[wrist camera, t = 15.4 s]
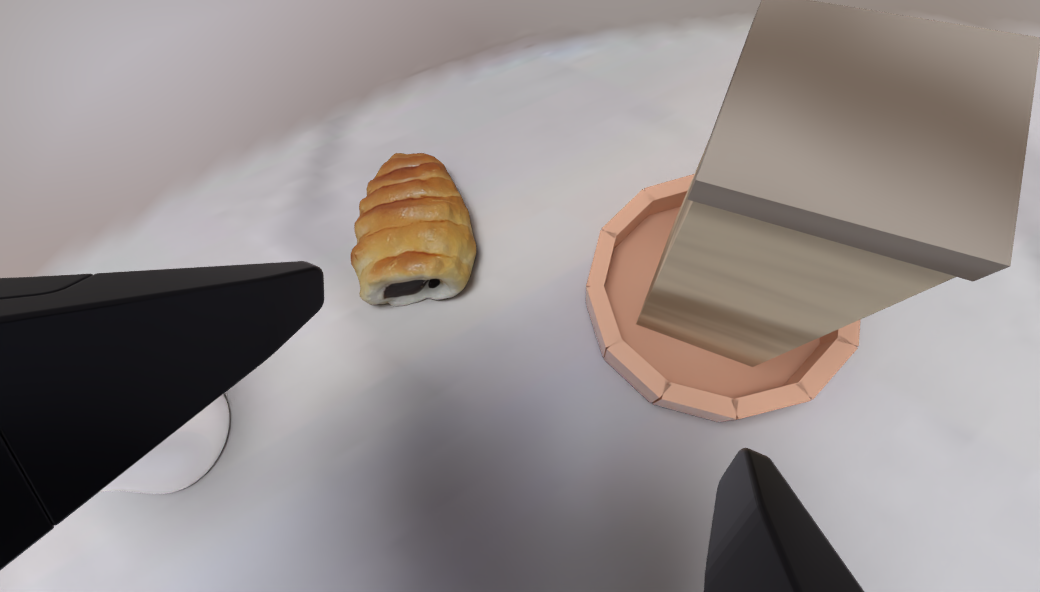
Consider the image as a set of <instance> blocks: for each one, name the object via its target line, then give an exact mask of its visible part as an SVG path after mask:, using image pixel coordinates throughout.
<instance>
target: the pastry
mask: <svg viewBox="0 0 1040 592" xmlns="http://www.w3.org/2000/svg"><path fill="white" fill-rule="evenodd" d="M359 210H360V217H359V218H358V219H357V221H356V222H355V234H356V238H357V245H356V246H355V247H354V248H353V249H352V252H351V264H352V266H353V268H354V269H355V271H356V274H357V276H358V279H359V282H360V287H361V289H360V297H361V298H362V300H364V301H365V302H367V303H369V304H371V305H377V304H386V303H389V304H390V305H392V306H403V305H408V304H411V303H414V302H419V301H421V300H423V299H425V298H432V299H436V300H439V299H445V298H451V297H454V296H455V295H457V294H458V293H459V292H461V291H462V290H463V289H464V287H465V286H466V284H467V282H468V280H469V278H470V275H471V271H472V267H473V264H474V260H475V256H476V243H475V240H474V237H473V233H472V228H471V224H470V217H469V212H468V209H467V208H466V207H465V204H464V202H463V199H462V197H461V195H460V194H459V192H458V191H457V188H456V186H455V184H454V182H453V181H452V179H451V177H450V175H449V174H448V172H447V170H446V168H445V166H444V165H443V164H442V163H441V162H440V161H439V160H437V159H436V158H435V157H433V156H430V155H427V154H424V153H417V154H403V153H396V154H394V155H393V156H392V157H391V158H390V159H389V160H388V161H387V162H385V163H384V164H383V165H382V167H381V168H380V170H379V171H378V173H377V175H376V176H375V178H374V179H373V180H371V181H370V182H369V183H368V186H367V197H366V198H364V199H362V200H361V201H360V205H359Z"/></svg>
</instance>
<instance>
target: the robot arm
mask: <svg viewBox="0 0 1040 592" xmlns="http://www.w3.org/2000/svg"><path fill="white" fill-rule="evenodd" d="M323 303H324V278H323V272H322V270H321V269H320V268H319V267H318V266H315V265H313V264H311V263H308V262H304V261H298V262H281V263H264V264H247V265H231V266H214V267H197V268H180V269H163V270H146V271H130V272H113V273H97V274H94V275H92V274H78V275H60V276H40V277H19V278H0V570H1V569H3V568H4V567H5V566H6V565H8V564H9V563H10V562H11V561H13V560H14V559H15V558H16V557H18V556H19V555H20V554H22V553H23V552H24V551H25V550H27V549H28V548H29V547H30V546H32V545H33V544H34V543H35V542H37V541H38V540H39V539H41V538H42V537H43V536H44V535H46V534H47V533H48V532H49V531H51V530H52V529H53V528H54V525H57V524H59V523H60V522H61V521H63V520H64V519H65V518H66V517H68V516H69V515H70V514H72V513H73V512H74V511H75V510H77V509H78V508H79V507H80V506H82V505H83V504H84V503H86V502H87V501H88V500H89V499H91V498H92V497H93V496H94V495H96V494H97V493H98V492H99V491H101V490H102V489H103V488H105V487H106V486H107V485H108V484H110V483H111V482H112V481H113V480H115V479H116V478H117V477H118V476H120V475H121V474H122V473H124V472H125V471H126V470H127V469H129V468H130V467H131V466H132V465H134V464H135V463H136V462H137V461H139V460H140V459H141V458H143V457H144V456H145V455H146V454H148V453H149V452H150V451H151V450H153V449H154V448H155V447H157V446H158V445H159V444H160V443H162V442H163V441H164V440H165V439H167V438H168V437H169V436H170V435H172V434H173V433H174V432H176V431H177V430H178V429H179V428H181V427H182V426H183V425H184V424H186V423H187V422H188V421H189V420H191V419H192V418H193V417H195V416H196V415H197V414H198V413H200V412H201V411H202V410H203V409H205V408H206V407H207V406H208V405H210V404H211V403H212V402H214V401H215V400H216V399H217V398H219V397H220V396H221V395H222V394H224V393H225V392H226V391H228V390H229V389H230V388H231V387H233V386H234V385H235V384H236V383H238V382H239V381H240V380H241V379H243V378H244V377H245V376H247V375H248V374H249V373H250V372H252V371H253V370H254V369H255V368H257V367H258V366H259V365H260V364H262V363H263V362H264V361H265V360H267V359H268V358H269V357H270V356H271V355H272V354H274V353H275V352H276V351H277V350H278V349H279V348H280V347H281V346H282V345H283V344H284V343H285V342H286V341H288V340H289V339H290V338H291V337H292V336H293V335H294V334H295V333H296V332H297V331H298V330H299V329H300V328H301V327H302V326H303V325H304V324H305V323H306V322H308V321H309V320H310V319H311V318H312V317H313V316H314V315H315V314H316V313H317V312H318V311H319V310H320V309H321V307H322V305H323ZM704 592H864V591H863V589H862V588H861V586H860V585H859V584H858V582H857V581H856V579H855V578H854V576H853V575H852V574H851V572H850V571H849V569H848V568H847V567H846V565H845V564H844V562H843V561H842V559H841V558H840V557H839V555H838V554H837V552H836V551H835V550H834V548H833V547H832V545H831V544H830V542H829V541H828V540H827V538H826V537H825V535H824V534H823V533H822V531H821V530H820V528H819V527H818V525H817V524H816V523H815V521H814V520H813V518H812V517H811V516H810V514H809V513H808V511H807V510H806V508H805V507H804V506H803V504H802V503H801V501H800V500H799V499H798V497H797V496H796V494H795V493H794V492H793V490H792V489H791V487H790V486H789V484H788V483H787V482H786V480H785V479H784V477H783V476H782V475H781V473H780V472H779V470H778V469H777V467H776V466H775V465H774V463H773V462H772V461H771V459H770V458H768V457H767V456H765V455H762V454H760V453H758V452H755V451H753V450H750V449H748V448H743V449H741V450H740V451H739V452H738V453H737V455H736V456H735V458H734V459H733V461H732V462H731V464H730V465H729V467H728V468H727V470H726V471H725V473H724V474H723V476H722V478H721V480H720V482H719V485H718V488H717V493H716V500H715V507H714V514H713V521H712V528H711V534H710V541H709V548H708V555H707V562H706V570H705V583H704Z"/></svg>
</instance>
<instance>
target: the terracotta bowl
mask: <svg viewBox="0 0 1040 592" xmlns="http://www.w3.org/2000/svg"><path fill="white" fill-rule="evenodd" d="M693 177H694V174H693V175H689V176H686V177H682V178H679V179H675V180H672V181H668V182H665V183H661V184H657V185H654V186H650V187H647V188H644V190H643V189H642V190H641V191H640V192H639V193H638V194H637V195H636V196H635V197H634V198H633V199H632V200H631V201H630V202H629V203H628V204H627V205H626V206H625V207H624V208H623V209H621V210H620V211H619V212H618V213H617V214H616V215H615V216H614V217H613V218H612V219H611V220H610V221H609V222H608V223H607V224H606V225H605V226H604V227H603V228H602V230H601V231H600V235H599V239H598V243H597V246H596V250H595V254H594V258H593V262H592V266H591V270H590V274H589V277H588V281H587V285H586V305H587V309H588V312H589V315H590V318H591V321H592V325H593V328H594V331H595V334H596V337H597V340H598V344H599V347H600V350H601V353H602V356H603V358H604V357H605V358H604V360H605V361H606V362H607V363H608V364H609V365H610V366H612V367H613V368H614V369H615V370H616V371H617V372H618V373H619V374H620V375H621V376H622V377H623V378H624V379H625V380H626V381H628V382H629V383H630V384H631V385H632V386H633V387H634V388H635V389H636V390H637V391H638V392H639V393H640V394H641V395H642V396H644V397H645V398H646V399H647V400H648V401H649V402H650V403H651V402H653V404H654V405H657V406H661V407H665V408H668V409H672V410H676V411H679V412H683V413H687V414H690V415H694V416H698V417H701V418H705V419H709V420H712V421H716V422H724V421H730V420H737V419H741V418H745V417H749V416H753V415H757V414H761V413H765V412H769V411H773V410H776V409H780V408H784V407H788V406H792V405H796V404H800V403H804V402H808V401H811V400H812V399H814V398H815V397H816V395H817V394H818V393H819V392H820V391H821V390H822V389H823V387H824V386H825V385H826V384H827V383H828V382H829V381H830V379H831V378H832V377H833V376H834V375H835V374H836V372H837V371H838V370H839V369H840V368H841V367H842V366H843V364H844V363H845V362H846V361H847V360H848V359H849V358H850V356H851V355H852V354H853V353H854V352H855V351H856V350H857V346H859V332H860V320H858V321H856V322H853V323H851V324H849V325H847V326H844V327H842V328H840V329H838V330H835V331H833V332H831V333H829V334H826V335H824V336H822V337H820V338H817V339H815V340H813V341H810V342H808V343H806V344H804V345H801V346H799V347H797V348H795V349H792V350H790V351H788V352H786V353H783V354H781V355H779V356H777V357H774V358H772V359H770V360H768V361H765V362H763V363H761V364H759V365H756V366H754V367H751V366H748V365H745V364H743V363H740V362H737V361H734V360H732V359H729V358H726V357H724V356H721V355H718V354H715V353H713V352H710V351H707V350H705V349H702V348H699V347H696V346H694V345H691V344H688V343H686V342H683V341H680V340H678V339H675V338H672V337H669V336H667V335H664V334H661V333H659V332H656V331H653V330H650V329H648V328H645V327H642V326H640V325H637V324H636V323H637V320H638V317H639V315H640V312H641V309H642V307H643V304H644V301H645V298H646V296H647V293H648V290H649V288H650V285H651V282H652V280H653V277H654V274H655V272H656V269H657V266H658V263H659V261H660V258H661V255H662V253H663V250H664V247H665V245H666V242H667V239H668V237H669V234H670V231H671V229H672V226H673V224H674V222H675V219H676V217H677V214H678V212H679V210H680V207H681V205H682V203H683V200H684V198H685V196H686V193H687V191H688V189H689V186H690V184H691V181H692V179H693Z"/></svg>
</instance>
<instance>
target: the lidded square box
mask: <svg viewBox="0 0 1040 592" xmlns="http://www.w3.org/2000/svg"><path fill="white" fill-rule="evenodd" d="M1039 50H1040V37H1034V36H1028V35H1022V34H1016V33H1010V32H1003V31H997V30H991V29H985V28H979V27H972V26H966V25H960V24H954V23H948V22H941V21H935V20H929V19H923V18H917V17H910V16H904V15H898V14H892V13H886V12H879V11H873V10H867V9H860V8H855V7H848V6H842V5H836V4H830V3H824V2H817V1H811V0H761V3H760V5H759V8H758V10H757V13H756V15H755V17H754V20H753V22H752V25H751V28H750V30H749V33H748V36H747V39H746V41H745V44H744V47H743V49H742V52H741V55H740V58H739V60H738V63H737V66H736V69H735V71H734V74H733V77H732V79H731V82H730V85H729V88H728V90H727V93H726V96H725V98H724V101H723V104H722V107H721V109H720V112H719V115H718V117H717V120H716V123H715V126H714V128H713V131H712V134H711V136H710V139H709V141H708V144H707V146H706V148H705V151H704V153H703V156H702V158H701V160H700V163H699V165H698V167H697V170H696V172H695V174H694V177H693V179H692V181H691V184H690V186H689V189H688V191H687V193H686V196H685V198H684V200H683V203H682V205H681V207H680V210H679V212H678V214H677V217H676V219H675V222H674V224H673V226H672V229H671V231H670V234H669V237H668V239H667V242H666V245H665V247H664V250H663V253H662V255H661V258H660V261H659V263H658V266H657V269H656V272H655V274H654V277H653V280H652V282H651V285H650V288H649V290H648V293H647V296H646V298H645V301H644V304H643V307H642V309H641V312H640V315H639V317H638V320H637V323H636V324H637V325H640V326H642V327H645V328H648V329H650V330H653V331H656V332H659V333H661V334H664V335H667V336H669V337H672V338H675V339H678V340H680V341H683V342H686V343H688V344H691V345H694V346H696V347H699V348H702V349H705V350H707V351H710V352H713V353H715V354H718V355H721V356H724V357H726V358H729V359H732V360H734V361H737V362H740V363H743V364H745V365H748V366H751V367H754V366H756V365H759V364H761V363H763V362H765V361H768V360H770V359H772V358H774V357H777V356H779V355H781V354H783V353H786V352H788V351H790V350H792V349H795V348H797V347H799V346H801V345H804V344H806V343H808V342H810V341H813V340H815V339H817V338H820V337H822V336H824V335H826V334H829V333H831V332H833V331H835V330H838V329H840V328H842V327H844V326H847V325H849V324H851V323H853V322H856V321H858V320H860V319H862V318H865V317H867V316H869V315H871V314H874V313H876V312H878V311H880V310H883V309H885V308H887V307H889V306H892V305H894V304H896V303H898V302H901V301H903V300H905V299H907V298H910V297H912V296H914V295H916V294H919V293H921V292H923V291H925V290H928V289H930V288H932V287H934V286H937V285H939V284H941V283H943V282H946V281H948V280H950V279H952V278H955V277H960V278H963V279H966V280H970V281H975V280H978V279H980V278H983V277H985V276H988V275H990V274H992V273H995V272H997V271H1000V270H1002V269H1005V268H1007V267H1009V266H1010V264H1011V257H1012V249H1013V242H1014V235H1015V227H1016V220H1017V213H1018V205H1019V198H1020V190H1021V183H1022V176H1023V168H1024V161H1025V154H1026V146H1027V139H1028V131H1029V124H1030V117H1031V109H1032V102H1033V95H1034V87H1035V80H1036V72H1037V65H1038V58H1039Z"/></svg>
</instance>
